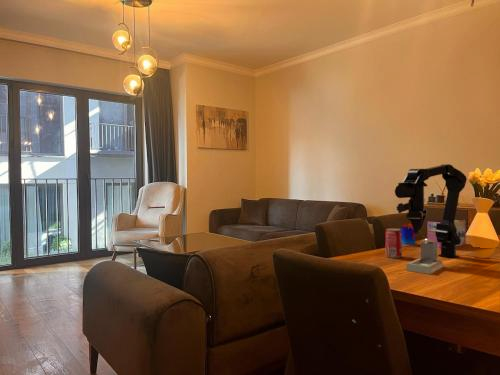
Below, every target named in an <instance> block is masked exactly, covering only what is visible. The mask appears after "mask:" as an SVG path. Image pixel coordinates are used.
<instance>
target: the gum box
mask: <svg viewBox="0 0 500 375" xmlns="http://www.w3.org/2000/svg"><path fill="white" fill-rule="evenodd" d="M441 221H442V219H440V220H431V221H430V220H429V221H427V225H426V226H427V229H426V230H427V234H426V237H427V238H431V239H433V242H436V243H437V249H441V243H440V242H437V238H436V235H435V233H436V232H435V230H436V225H437V223H441ZM454 224H455V226H456V229H457V232H456V234H457V235H458V237H459V238H460V239H461V242H460V244H458V245H456V247H459V246H460V247H461V246H465V245H467V240H466V239H467V238H466V237H467V235H466V234H467V232H466V231H467V230H466V219H463V220H457V219H456V218H455V220H454Z"/></svg>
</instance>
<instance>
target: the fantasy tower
mask: <svg viewBox="0 0 500 375" xmlns="http://www.w3.org/2000/svg"><path fill="white" fill-rule="evenodd" d="M400 231H401V233H402V247H404V248H412V247H421V243H420V244H417V243H416V233H414V230H413V226H412V223H408V224H407V223H405V224H403V225H402V226H401V228H400Z"/></svg>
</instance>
